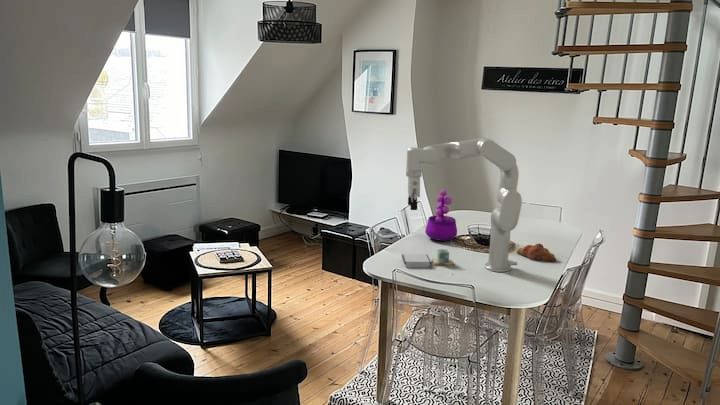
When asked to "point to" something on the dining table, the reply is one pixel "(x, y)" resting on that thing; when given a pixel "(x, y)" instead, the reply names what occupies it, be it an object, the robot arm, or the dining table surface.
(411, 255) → the dock
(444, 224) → the decorative plant
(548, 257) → the pastry
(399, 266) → the dining table surface
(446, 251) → the pallet
